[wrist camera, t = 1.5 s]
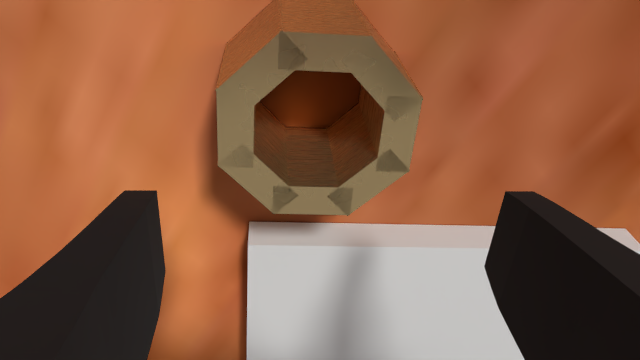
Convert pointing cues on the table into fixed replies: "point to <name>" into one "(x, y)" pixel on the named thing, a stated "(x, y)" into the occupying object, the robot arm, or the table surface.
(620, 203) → the table surface
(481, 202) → the table surface
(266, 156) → the ring
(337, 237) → the grey peg base
